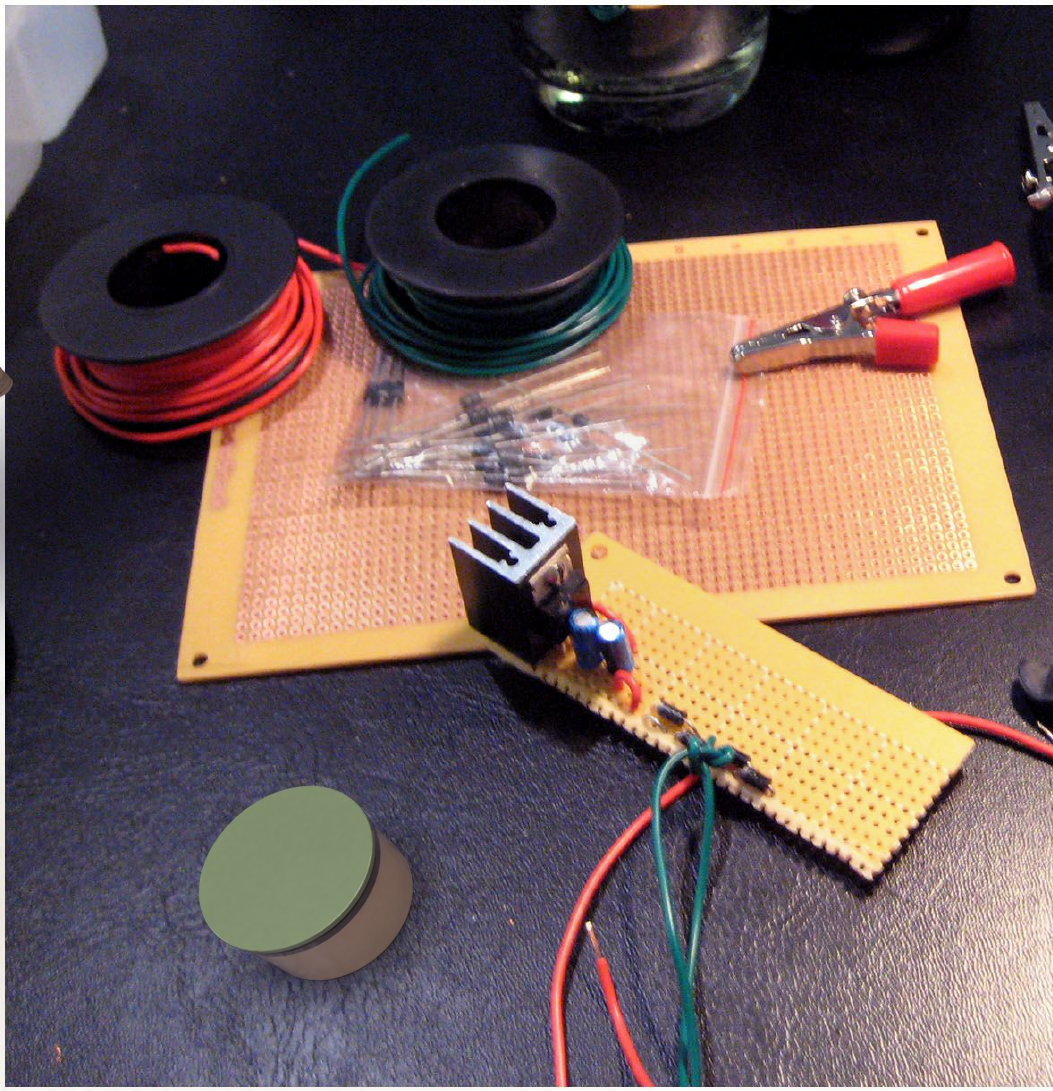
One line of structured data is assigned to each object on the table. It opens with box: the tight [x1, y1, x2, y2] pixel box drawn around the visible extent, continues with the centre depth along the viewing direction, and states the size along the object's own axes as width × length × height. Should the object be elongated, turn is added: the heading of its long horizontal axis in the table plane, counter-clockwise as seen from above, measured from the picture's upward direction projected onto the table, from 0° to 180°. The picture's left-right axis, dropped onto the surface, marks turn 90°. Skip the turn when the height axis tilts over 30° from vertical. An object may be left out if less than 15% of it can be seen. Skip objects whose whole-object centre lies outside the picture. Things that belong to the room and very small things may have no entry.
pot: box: [198, 785, 414, 981], centre depth 86 cm, size 12×12×9 cm
